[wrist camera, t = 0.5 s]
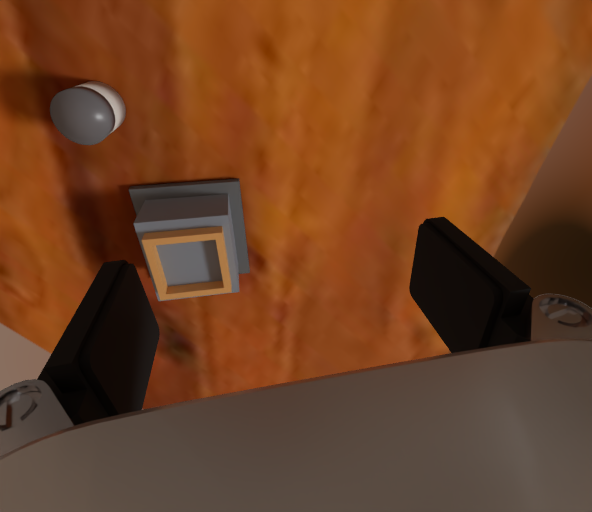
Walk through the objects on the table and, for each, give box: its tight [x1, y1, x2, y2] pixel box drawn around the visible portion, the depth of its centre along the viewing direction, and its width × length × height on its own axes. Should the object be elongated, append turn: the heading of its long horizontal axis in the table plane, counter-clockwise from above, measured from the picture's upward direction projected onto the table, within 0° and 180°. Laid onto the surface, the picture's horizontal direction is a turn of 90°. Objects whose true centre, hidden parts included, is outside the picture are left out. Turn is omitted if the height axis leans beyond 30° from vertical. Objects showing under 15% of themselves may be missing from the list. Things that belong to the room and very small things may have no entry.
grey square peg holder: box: [129, 179, 250, 301], centre depth 42 cm, size 14×13×8 cm
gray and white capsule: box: [50, 81, 126, 145], centre depth 33 cm, size 5×5×6 cm
